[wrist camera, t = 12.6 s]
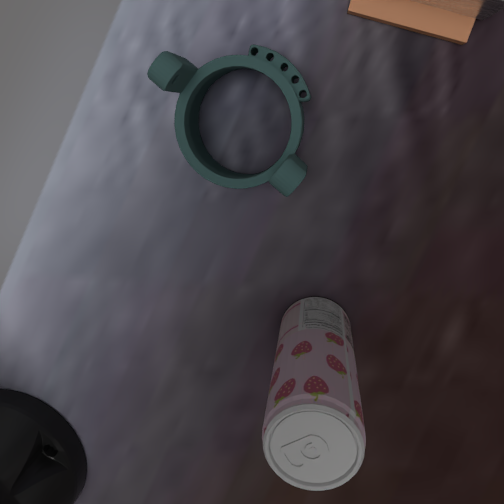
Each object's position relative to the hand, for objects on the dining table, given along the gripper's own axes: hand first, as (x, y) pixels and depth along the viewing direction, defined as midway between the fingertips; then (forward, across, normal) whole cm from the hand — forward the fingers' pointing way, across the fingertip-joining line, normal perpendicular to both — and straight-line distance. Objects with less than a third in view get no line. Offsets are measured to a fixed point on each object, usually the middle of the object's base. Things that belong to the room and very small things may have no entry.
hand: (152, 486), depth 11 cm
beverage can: (+28, +6, -7) cm, 29 cm away
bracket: (+28, -3, +8) cm, 29 cm away
